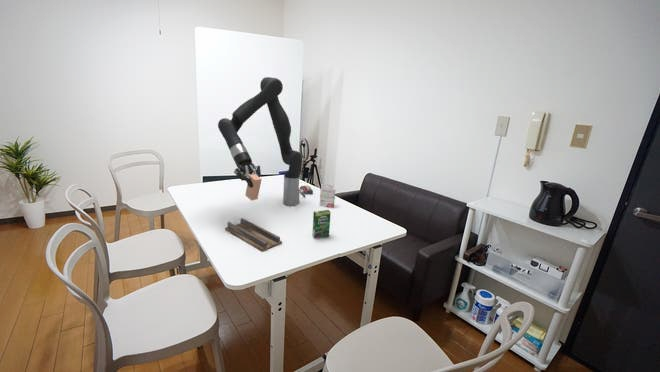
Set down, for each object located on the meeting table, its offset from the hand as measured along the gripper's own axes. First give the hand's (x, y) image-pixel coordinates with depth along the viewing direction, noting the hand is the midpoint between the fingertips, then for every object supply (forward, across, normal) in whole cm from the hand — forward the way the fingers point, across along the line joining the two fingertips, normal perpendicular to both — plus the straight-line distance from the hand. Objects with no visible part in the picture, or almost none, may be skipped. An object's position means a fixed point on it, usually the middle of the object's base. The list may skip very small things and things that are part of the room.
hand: (255, 186), depth 135 cm
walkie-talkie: (-2, +62, +34) cm, 70 cm away
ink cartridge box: (+16, +54, +15) cm, 58 cm away
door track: (+19, -5, +12) cm, 23 cm away
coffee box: (+34, +20, -2) cm, 39 cm away
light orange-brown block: (+2, 0, +7) cm, 7 cm away
